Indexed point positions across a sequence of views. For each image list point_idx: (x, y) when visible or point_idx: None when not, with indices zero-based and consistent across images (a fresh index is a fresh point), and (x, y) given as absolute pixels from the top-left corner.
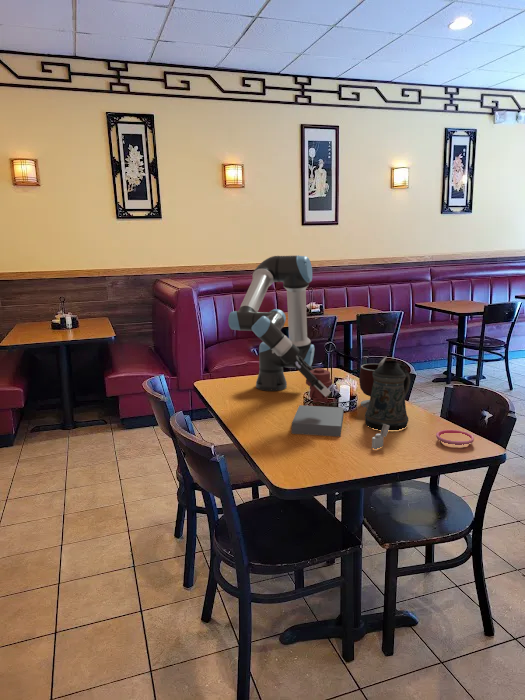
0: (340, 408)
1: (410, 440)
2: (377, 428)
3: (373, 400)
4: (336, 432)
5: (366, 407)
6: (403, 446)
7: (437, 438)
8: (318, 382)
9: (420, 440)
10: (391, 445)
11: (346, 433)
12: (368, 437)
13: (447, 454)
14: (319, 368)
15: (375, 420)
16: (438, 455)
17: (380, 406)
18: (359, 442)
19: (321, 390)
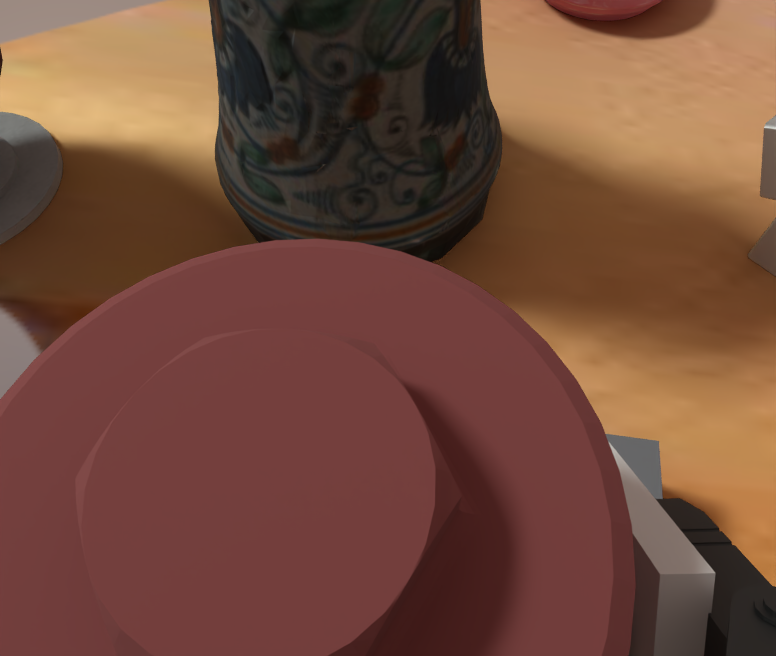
0: None
1: (600, 112)
2: (473, 221)
3: (406, 94)
4: None
5: (8, 233)
6: (700, 151)
7: (627, 6)
8: (722, 591)
9: (590, 77)
10: (704, 198)
11: None
12: (600, 293)
13: (745, 23)
14: (134, 462)
15: (472, 195)
16: (771, 51)
17: (464, 88)
18: (709, 355)
19: None
